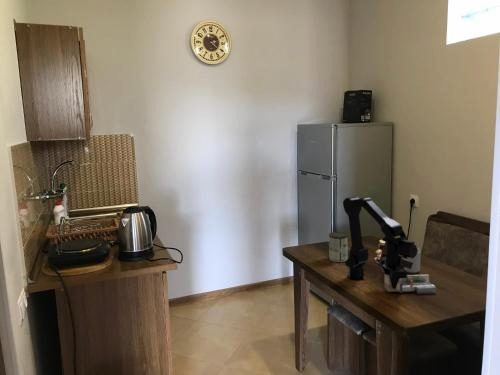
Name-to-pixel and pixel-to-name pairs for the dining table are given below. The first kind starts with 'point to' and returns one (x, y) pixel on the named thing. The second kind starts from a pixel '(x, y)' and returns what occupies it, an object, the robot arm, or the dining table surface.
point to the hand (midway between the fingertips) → (392, 286)
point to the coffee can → (338, 246)
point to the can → (414, 263)
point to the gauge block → (388, 284)
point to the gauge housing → (419, 283)
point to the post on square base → (411, 287)
